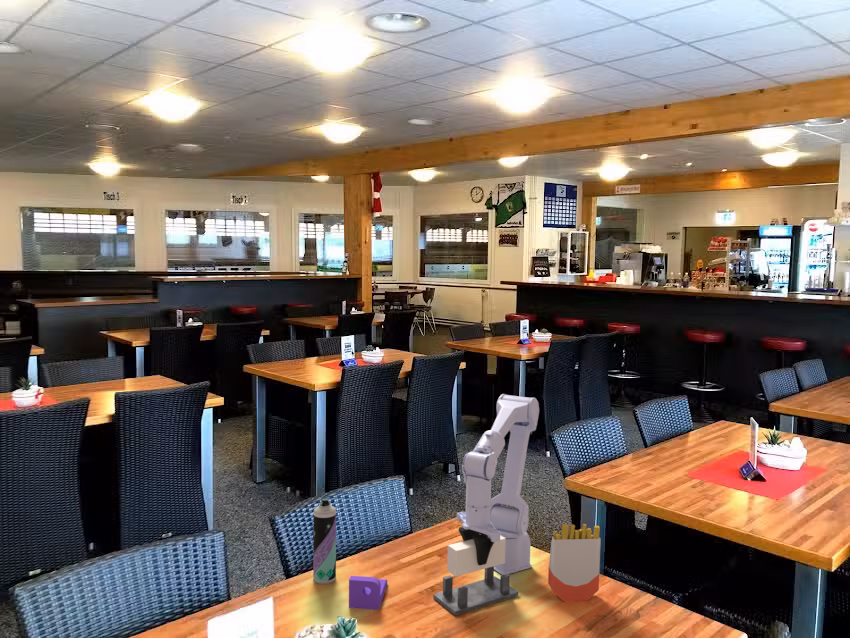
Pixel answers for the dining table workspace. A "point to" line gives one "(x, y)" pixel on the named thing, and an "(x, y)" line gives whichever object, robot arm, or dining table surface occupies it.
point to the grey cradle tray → (475, 593)
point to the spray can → (324, 543)
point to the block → (473, 557)
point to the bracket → (366, 592)
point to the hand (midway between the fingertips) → (476, 560)
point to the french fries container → (575, 563)
